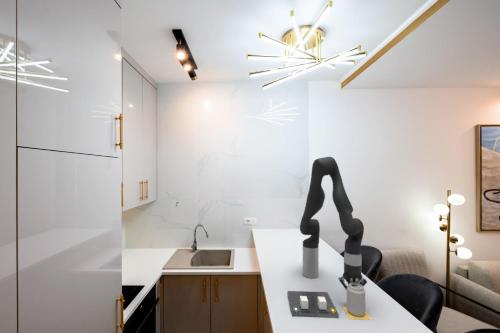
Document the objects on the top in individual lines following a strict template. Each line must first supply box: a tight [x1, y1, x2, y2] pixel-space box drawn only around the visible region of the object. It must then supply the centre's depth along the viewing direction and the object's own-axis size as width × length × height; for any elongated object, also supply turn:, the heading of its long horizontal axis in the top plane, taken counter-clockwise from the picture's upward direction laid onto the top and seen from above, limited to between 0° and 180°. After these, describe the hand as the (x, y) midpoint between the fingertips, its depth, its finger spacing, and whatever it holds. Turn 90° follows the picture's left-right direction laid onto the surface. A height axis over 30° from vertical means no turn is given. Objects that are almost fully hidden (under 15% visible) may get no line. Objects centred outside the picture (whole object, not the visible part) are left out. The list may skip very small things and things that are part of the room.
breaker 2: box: [318, 297, 327, 310], centre depth 107 cm, size 4×3×4 cm
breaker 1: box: [300, 296, 308, 309], centre depth 107 cm, size 4×3×4 cm
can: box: [346, 282, 366, 316], centre depth 105 cm, size 8×8×12 cm
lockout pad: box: [342, 305, 372, 321], centre depth 105 cm, size 9×9×1 cm
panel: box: [286, 290, 340, 319], centre depth 111 cm, size 18×20×3 cm
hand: (352, 298), depth 110 cm, fingers closed
